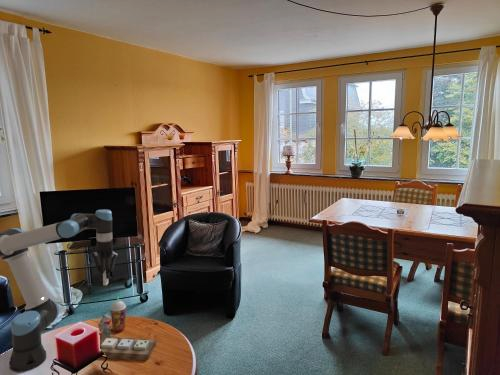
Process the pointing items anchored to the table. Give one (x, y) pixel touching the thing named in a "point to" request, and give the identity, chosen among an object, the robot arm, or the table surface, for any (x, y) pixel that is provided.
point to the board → (129, 353)
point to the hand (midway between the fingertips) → (105, 284)
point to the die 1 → (109, 343)
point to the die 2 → (125, 344)
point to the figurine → (105, 325)
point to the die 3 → (141, 345)
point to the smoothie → (118, 315)
